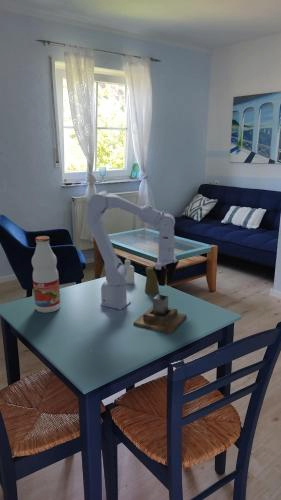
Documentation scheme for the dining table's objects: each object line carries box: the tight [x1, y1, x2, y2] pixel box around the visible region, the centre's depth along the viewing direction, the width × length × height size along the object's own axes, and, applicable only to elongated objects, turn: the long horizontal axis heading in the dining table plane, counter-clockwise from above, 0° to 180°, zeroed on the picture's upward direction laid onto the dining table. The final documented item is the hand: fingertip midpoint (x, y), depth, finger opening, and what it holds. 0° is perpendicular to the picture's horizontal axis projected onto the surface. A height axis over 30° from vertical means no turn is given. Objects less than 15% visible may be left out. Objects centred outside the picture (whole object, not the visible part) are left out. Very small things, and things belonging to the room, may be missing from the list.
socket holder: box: [133, 306, 187, 335], centre depth 134 cm, size 14×14×4 cm
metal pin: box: [152, 293, 169, 317], centre depth 133 cm, size 4×4×8 cm
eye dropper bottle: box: [124, 256, 135, 285], centre depth 169 cm, size 4×6×12 cm
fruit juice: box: [31, 235, 61, 314], centre depth 142 cm, size 9×9×28 cm
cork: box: [144, 265, 160, 295], centre depth 160 cm, size 6×6×11 cm
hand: (166, 282), depth 143 cm, fingers open, 7 cm apart
